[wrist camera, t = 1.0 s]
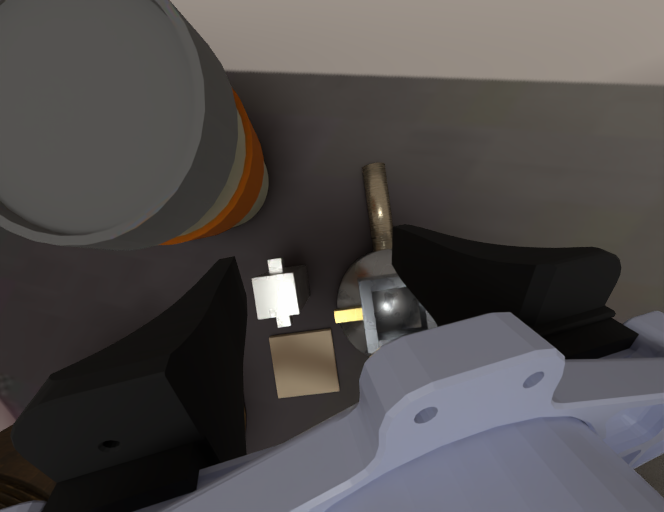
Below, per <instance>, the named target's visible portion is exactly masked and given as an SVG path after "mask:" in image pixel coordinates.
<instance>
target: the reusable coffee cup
mask: <svg viewBox="0 0 664 512" xmlns="http://www.w3.org/2000/svg"><path fill="white" fill-rule="evenodd" d="M268 186H269V180H268V172H267V168H266V165H265V163H264V158H263V153H262V149H261V144H260V142H259V140H258V138H257V135H256V133H255V131H254V129H253V126H252V124H251V122H250V120H249V118H248V116H247V113H246V111H245V109H244V107H243V105H242V102H241V100H240V98H239V97H238V95H237V94H236V92H235V91H234V90H233V88H232V87H231V85H230V82H229V80H228V78H227V76H226V73H225V71H224V69H223V66H222V64H221V63H220V61H219V60H218V58H217V57H216V56H215V54H214V53H213V51H212V50H211V48H210V47H209V45H208V44H207V43H206V42H205V41H204V40H203V38H202V37H201V36H200V35H199V34H198V33H197V31H196V30H195V29H194V28H193V27H192V26H191V24H190V23H189V22H188V21H187V20H186V19H185V18H184V16H183V15H182V14H181V13H180V12H179V11H178V10H177V8H176V7H175V6H174V5H173V4H172V3H171V2H170V0H0V226H2V227H3V228H5V229H6V230H8V231H10V232H13V233H15V234H18V235H20V236H23V237H25V238H28V239H30V240H33V241H38V242H43V243H48V244H54V245H59V246H70V247H81V248H92V249H103V250H138V249H143V248H147V247H152V246H156V245H172V244H176V243H181V242H186V241H191V240H195V239H200V238H205V237H209V236H214V235H218V234H220V233H222V232H224V231H226V230H229V229H230V228H232V227H236V226H239V225H241V224H243V223H246V222H247V221H248V220H250V219H251V218H253V217H254V216H255V215H256V214H257V212H258V211H259V210H260V209H261V207H262V205H263V204H264V201H265V199H266V196H267V192H268Z"/></svg>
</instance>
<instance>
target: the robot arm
mask: <svg viewBox="0 0 664 512" xmlns="http://www.w3.org/2000/svg"><path fill="white" fill-rule="evenodd" d="M391 264H392V266H393V268H394V269H395V271H396V273H397V274H398V276H399V278H400V279H401V280H402V282H403V283H404V284H405V285H406V287H407V288H408V289H409V290H410V291H411V293H412V294H413V295H414V296H415V297H416V299H417V300H418V301H419V302H420V303H421V304H422V306H423V307H424V308H425V309H426V310H427V312H428V313H429V314H430V316H431V317H432V318H433V319H434V321H435V322H436V324H437V326H438V327H435V328H431V329H427V330H424V331H420V332H416V333H413V334H409V335H405V336H401V337H399V338H397V339H395V340H392V341H390V342H388V343H386V344H384V345H382V346H380V347H379V348H378V349H377V350H376V351H375V352H374V353H373V354H372V355H371V356H370V357H369V358H368V359H367V361H366V362H365V363H364V367H363V370H362V373H361V376H360V379H359V385H360V399H359V402H358V403H356V404H354V405H353V406H351V407H349V408H347V409H345V410H343V411H342V412H340V413H338V414H336V415H334V416H332V417H330V418H329V419H327V420H325V421H323V422H321V423H319V424H318V425H316V426H314V427H312V428H310V429H308V430H306V431H305V432H303V433H301V434H299V435H297V436H295V437H293V438H292V439H290V440H288V441H286V442H284V443H282V444H280V445H276V446H273V447H270V448H267V449H264V450H261V451H257V452H254V453H251V454H248V455H246V439H245V420H244V394H243V357H244V346H245V336H246V325H247V298H246V292H245V289H244V286H243V282H242V279H241V276H240V273H239V269H238V266H237V263H236V259H235V256H234V257H229V258H224V259H219V260H218V261H217V262H216V263H215V264H214V265H213V266H212V267H211V269H210V270H209V271H208V272H207V273H206V274H205V275H204V276H203V277H202V278H201V279H200V280H199V281H198V282H197V283H196V284H195V285H194V286H193V287H192V288H191V289H190V290H189V291H188V292H187V293H186V294H185V295H184V296H183V297H182V298H180V299H179V300H178V301H177V302H176V303H175V304H173V305H172V306H171V307H170V308H168V309H167V310H166V311H164V312H163V313H162V314H160V315H159V316H158V317H156V318H155V319H153V320H152V321H150V322H149V323H147V324H146V325H144V326H142V327H141V328H139V329H138V330H136V331H135V332H133V333H132V334H130V335H128V336H126V337H125V338H123V339H121V340H120V341H118V342H116V343H114V344H112V345H110V346H109V347H107V348H105V349H103V350H101V351H99V352H97V353H95V354H93V355H91V356H89V357H87V358H85V359H83V360H81V361H79V362H76V363H74V364H72V365H70V366H68V367H66V368H64V369H62V370H60V371H57V372H55V373H53V374H51V375H50V376H49V378H48V379H47V380H46V382H45V383H44V384H43V386H42V387H41V388H40V390H39V391H38V392H37V394H36V395H35V396H34V398H33V399H32V400H31V402H30V403H29V404H28V406H27V407H26V408H25V409H24V411H23V412H22V413H21V415H20V416H19V417H18V419H17V420H16V421H15V423H14V424H13V427H12V430H11V434H10V437H11V440H12V444H13V447H14V448H15V449H16V450H17V452H18V453H19V454H20V455H21V456H22V457H23V458H24V459H26V460H27V461H28V462H30V463H31V464H32V465H34V466H35V467H36V468H37V469H39V470H40V471H41V472H43V473H44V474H45V475H47V476H48V477H49V478H51V479H52V480H53V481H55V482H56V485H55V487H54V489H53V491H52V493H51V495H50V497H49V499H48V501H47V502H46V501H37V500H33V501H28V502H23V503H20V504H16V505H13V506H10V507H7V508H3V509H0V512H664V498H663V497H662V496H661V495H660V494H659V493H658V492H657V491H656V490H655V489H654V488H653V487H652V486H650V485H649V484H648V483H647V482H646V481H645V480H644V479H643V478H642V477H641V476H640V475H639V474H638V473H637V472H636V471H635V470H634V469H635V468H637V467H639V466H641V465H642V464H644V463H646V462H648V461H650V460H652V459H654V458H656V457H658V456H660V455H661V454H663V453H664V313H662V312H660V311H652V312H649V313H646V314H642V315H639V316H636V317H633V318H630V319H628V320H627V321H626V322H624V323H623V324H621V323H619V322H618V321H616V320H614V319H613V318H611V317H614V316H615V314H616V313H615V311H614V310H612V309H610V308H608V307H606V306H605V303H606V302H607V300H608V298H609V296H610V294H611V292H612V290H613V289H614V287H615V285H616V283H617V281H618V278H619V276H620V272H621V264H620V260H619V258H618V257H617V256H616V255H615V254H612V253H610V252H607V251H605V250H603V249H600V248H596V247H571V248H534V247H517V246H506V245H497V244H489V243H483V242H477V241H471V240H467V239H462V238H458V237H454V236H450V235H446V234H442V233H438V232H435V231H431V230H428V229H424V228H420V227H416V226H412V225H406V224H404V225H399V226H394V227H393V231H392V263H391Z"/></svg>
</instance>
